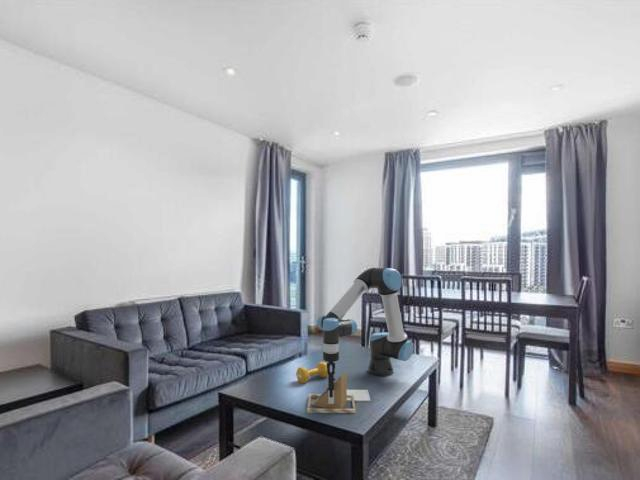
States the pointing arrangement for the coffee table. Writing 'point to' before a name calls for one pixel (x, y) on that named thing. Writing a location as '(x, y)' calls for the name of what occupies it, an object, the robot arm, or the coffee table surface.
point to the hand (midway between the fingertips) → (331, 399)
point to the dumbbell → (311, 372)
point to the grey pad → (359, 395)
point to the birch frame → (319, 410)
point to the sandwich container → (339, 395)
